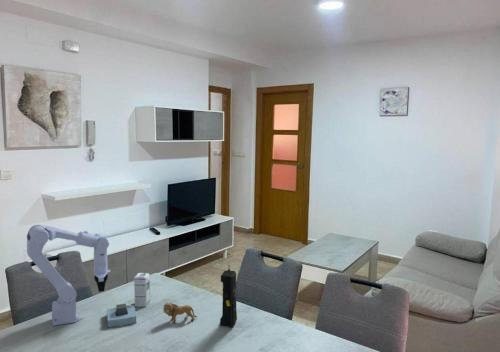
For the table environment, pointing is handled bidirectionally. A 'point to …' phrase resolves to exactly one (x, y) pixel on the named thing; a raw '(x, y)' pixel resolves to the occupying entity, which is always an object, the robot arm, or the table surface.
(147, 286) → the syrup box
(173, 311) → the lion figurine
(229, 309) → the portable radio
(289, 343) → the table surface
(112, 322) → the socket plate
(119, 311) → the plug
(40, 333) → the table surface
